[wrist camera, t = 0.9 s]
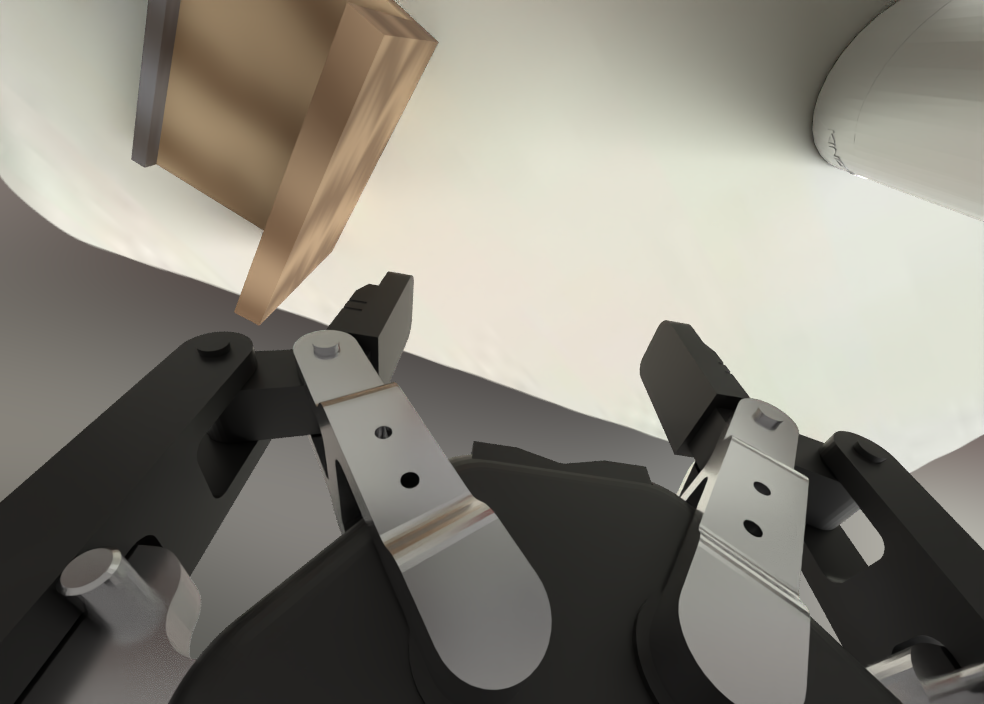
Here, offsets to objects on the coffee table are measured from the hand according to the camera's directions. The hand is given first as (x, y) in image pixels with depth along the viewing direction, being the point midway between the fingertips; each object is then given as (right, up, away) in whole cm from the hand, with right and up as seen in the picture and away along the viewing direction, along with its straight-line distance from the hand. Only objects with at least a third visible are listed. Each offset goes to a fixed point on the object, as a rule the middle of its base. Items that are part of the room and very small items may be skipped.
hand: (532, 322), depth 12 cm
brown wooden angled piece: (-15, +16, +13) cm, 25 cm away
